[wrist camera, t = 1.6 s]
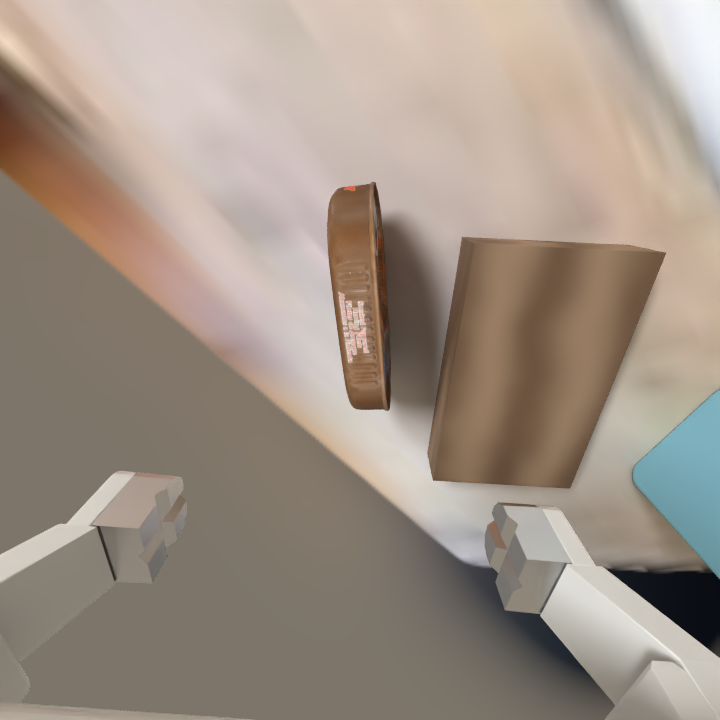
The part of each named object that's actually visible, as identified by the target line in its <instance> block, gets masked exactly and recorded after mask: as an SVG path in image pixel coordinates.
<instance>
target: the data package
mask: <svg viewBox="0 0 720 720" xmlns="http://www.w3.org/2000/svg"><path fill="white" fill-rule="evenodd" d="M633 481H634V483H635V485H636V486H637V487H638V489H639V490H640V491H641V492H642V493H643V494H644V495H645V496H646V497H647V499H648V500H649V501H650V502H651V503H652V504H653V505H654V506H655V508H656V509H657V510H658V511H659V512H660V513H661V514H662V515H663V516H664V518H665V519H666V520H667V521H668V522H669V523H670V524H671V525H672V526H673V528H674V529H675V530H676V531H677V532H678V533H679V534H680V535H681V537H682V538H683V539H684V540H685V541H686V542H687V543H688V544H689V545H690V547H691V548H692V549H693V550H694V551H695V552H696V553H697V554H698V555H699V557H700V558H701V559H702V560H703V561H704V562H705V563H706V564H707V566H708V567H709V568H710V569H711V570H712V571H713V572H714V573H715V574H716V575H717V577H718V578H719V579H720V389H719V390H718V391H716V392H715V393H713V394H712V395H711V396H710V397H709V398H708V399H707V400H706V401H705V402H704V403H703V404H701V405H700V406H699V407H698V408H697V409H696V410H695V411H694V412H693V413H692V414H691V415H689V416H688V417H687V418H686V419H685V420H684V421H683V422H682V423H681V424H680V425H679V426H677V427H676V428H675V429H674V430H673V431H672V432H671V433H670V434H669V435H668V436H667V437H665V438H664V439H663V440H662V441H661V442H660V443H659V444H658V445H657V446H656V447H655V448H653V449H652V450H651V451H650V452H649V453H648V454H647V455H646V456H645V457H644V458H643V459H641V460H640V461H639V462H638V463H637V464H636V466H635V467H634V470H633Z"/></svg>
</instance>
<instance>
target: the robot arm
mask: <svg viewBox="0 0 720 720" xmlns="http://www.w3.org/2000/svg"><path fill="white" fill-rule="evenodd" d="M183 488H184V487H183V482H182V478H180V477H177V476H167V475H158V474H148V473H135V472H127V471H118V472H116V473H114V474H112V475H111V476H110V478H109V479H108V480H107V481H106V482H105V483H104V484H103V485H102V486H101V487H100V488H99V489H98V490H97V491H96V493H95V494H94V495H93V496H92V497H91V498H90V499H89V500H88V501H87V502H86V503H85V504H84V505H83V506H82V508H81V509H80V510H79V511H78V512H77V513H76V514H75V515H74V516H73V517H72V518H71V519H70V520H69V522H68V523H67V524H58V525H56V526H54V527H52V528H51V529H49V530H47V531H45V532H43V533H41V534H39V535H37V536H35V537H33V538H31V539H29V540H28V541H26V542H24V543H22V544H20V545H18V546H16V547H14V548H12V549H10V550H8V551H6V552H4V553H3V554H1V555H0V720H250V719H236V718H222V717H208V716H193V715H178V714H165V713H164V714H163V713H150V712H136V711H121V710H107V709H92V708H78V707H63V706H49V705H34V704H20V703H21V701H22V700H23V698H24V697H25V695H26V693H27V692H28V691H29V689H30V681H29V679H28V677H27V675H26V674H25V672H24V671H23V669H22V667H21V666H20V664H19V663H20V662H21V661H22V660H23V659H25V658H26V657H27V656H28V655H30V654H31V653H32V652H33V651H34V650H36V649H37V648H38V647H39V646H40V645H42V644H43V643H44V642H45V641H46V640H48V639H49V638H50V637H51V636H53V635H54V634H55V633H56V632H57V631H59V630H60V629H61V628H62V627H63V626H64V625H66V624H67V623H68V622H69V621H71V620H72V619H73V618H74V617H76V616H77V615H78V614H79V613H80V612H82V611H83V610H84V609H85V608H86V607H88V606H89V605H90V604H91V603H92V602H94V601H95V600H96V599H97V598H98V597H100V596H101V595H102V594H103V593H105V592H106V591H107V590H108V589H109V588H111V587H112V586H113V585H114V584H115V582H135V583H153V582H154V580H155V578H156V576H157V575H158V573H159V571H160V569H161V567H162V566H163V564H164V562H165V560H166V558H167V557H168V556H167V550H166V547H167V546H169V545H170V544H172V543H173V542H175V541H176V540H177V539H178V537H179V535H180V533H181V531H182V530H183V527H184V523H185V520H186V515H187V504H186V501H185V499H184V498H183V497H182V496H181V495H180V493H181V492H182V490H183ZM492 514H493V517H494V519H495V520H494V521H493V522H492V523H490V524H489V525H488V526H487V530H486V533H485V549H486V555H487V558H488V561H489V564H490V565H491V566H492V567H493V568H494V569H495V570H496V571H497V572H498V573H499V574H498V576H497V579H496V585H497V588H498V591H499V594H500V597H501V600H502V602H503V605H504V609H505V610H508V611H518V612H528V613H536V614H541V617H542V619H543V620H544V621H545V622H546V623H547V624H548V626H549V627H550V628H551V629H552V630H553V631H554V633H555V634H556V635H557V636H558V638H559V639H560V640H561V641H562V642H563V643H564V645H565V646H566V647H567V648H568V649H569V651H570V652H571V653H572V654H573V655H574V656H575V658H576V659H577V660H578V661H579V662H580V664H581V665H582V666H583V667H584V668H585V670H586V671H587V672H588V673H589V674H590V675H591V677H592V678H593V679H594V680H595V681H596V683H597V684H598V685H599V686H600V687H601V688H602V690H603V691H604V692H605V693H606V695H607V696H608V697H609V698H610V699H611V700H612V701H613V703H614V704H615V705H616V706H615V707H614V709H613V710H612V711H611V712H610V714H609V715H608V716H607V717H606V719H605V720H720V658H719V657H717V656H716V655H715V654H713V653H712V652H711V651H710V650H708V649H707V648H706V647H704V646H703V645H702V644H700V643H699V642H698V641H697V640H695V639H694V638H693V637H692V636H691V635H689V634H688V633H686V632H685V631H684V630H683V629H682V628H680V627H679V626H678V625H676V624H675V623H674V622H672V621H671V620H670V619H669V618H667V617H666V616H665V615H664V614H662V613H661V612H659V610H657V609H656V608H654V607H653V606H652V605H651V604H649V603H648V602H647V601H646V600H644V599H643V598H642V597H641V596H639V595H638V594H637V593H635V592H634V591H633V590H631V589H630V588H629V587H628V586H627V585H625V584H624V583H623V582H621V581H620V580H619V579H618V578H616V577H615V576H614V575H612V574H611V573H610V572H609V571H607V570H606V569H605V568H603V567H601V566H596V565H595V563H594V562H593V560H592V559H591V557H590V555H589V554H588V552H587V551H586V549H585V548H584V546H583V544H582V543H581V541H580V540H579V538H578V536H577V535H576V533H575V532H574V530H573V528H572V527H571V525H570V524H569V522H568V520H567V519H566V517H565V516H564V514H563V512H562V511H561V510H560V509H559V508H558V507H555V506H541V505H536V506H535V505H528V504H514V503H499V502H498V503H497V504H496V505H495V506H494V509H493V512H492Z"/></svg>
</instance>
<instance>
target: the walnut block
mask: <svg viewBox="0 0 720 720" xmlns="http://www.w3.org/2000/svg"><path fill="white" fill-rule="evenodd" d="M665 255H666V253H664V252H659V251H655V250H650V249H645V248H640V247H635V246H631V245H615V244H594V243H574V242H553V241H532V240H511V239H491V238H470V237H462V241H461V248H460V254H459V260H458V266H457V273H456V279H455V285H454V291H453V298H452V304H451V310H450V316H449V322H448V329H447V335H446V341H445V347H444V354H443V360H442V366H441V372H440V379H439V385H438V391H437V397H436V404H435V410H434V416H433V422H432V429H431V435H430V441H429V447H428V458H429V463H430V468H431V473H432V478H433V480H435V481H452V482H469V483H486V484H504V485H521V486H538V487H555V488H570V487H571V485H572V482H573V480H574V477H575V475H576V472H577V470H578V468H579V465H580V463H581V460H582V458H583V455H584V453H585V450H586V448H587V445H588V443H589V441H590V438H591V436H592V433H593V431H594V428H595V426H596V423H597V421H598V419H599V416H600V414H601V411H602V409H603V406H604V404H605V401H606V399H607V397H608V394H609V392H610V389H611V387H612V384H613V382H614V379H615V377H616V375H617V372H618V370H619V367H620V365H621V362H622V360H623V357H624V355H625V353H626V350H627V348H628V345H629V343H630V340H631V338H632V335H633V333H634V330H635V328H636V326H637V323H638V321H639V318H640V316H641V313H642V311H643V308H644V306H645V304H646V301H647V299H648V296H649V294H650V291H651V289H652V286H653V284H654V282H655V279H656V277H657V274H658V272H659V269H660V267H661V264H662V262H663V260H664V257H665Z"/></svg>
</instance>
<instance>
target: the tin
mask: <svg viewBox="0 0 720 720" xmlns="http://www.w3.org/2000/svg"><path fill="white" fill-rule="evenodd" d="M327 237H328V254H329V266H330V275H331V282H332V291H333V299H334V307H335V315H336V322H337V330H338V337H339V345H340V351H341V358H342V365H343V372H344V379H345V385H346V390H347V394H348V398H349V401H350V403H351V405H352V406H353V407H354V408H355V409H360V410H375V409H384V410H386V411H389V409H390V396H391V385H390V384H391V383H390V377H391V358H390V341H389V322H388V307H387V291H386V274H385V258H384V243H383V231H382V219H381V210H380V203H379V196H378V191H377V187H376V183H375V182H372V183H371V184H367V185H359V186H349V187H342V188H339V189H337V190H336V192H335V193H334V194H333V196H332V198H331V200H330V203H329V209H328V222H327Z"/></svg>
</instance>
